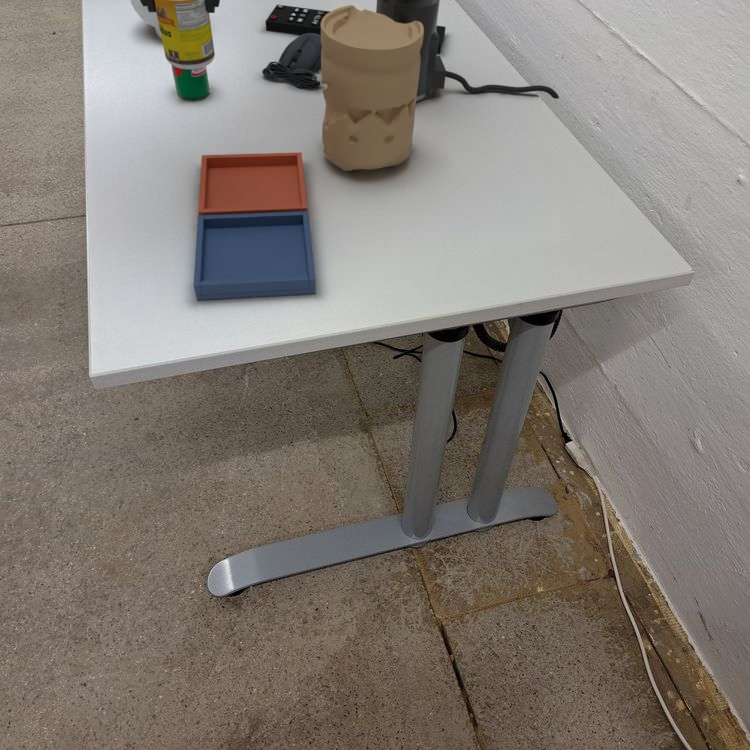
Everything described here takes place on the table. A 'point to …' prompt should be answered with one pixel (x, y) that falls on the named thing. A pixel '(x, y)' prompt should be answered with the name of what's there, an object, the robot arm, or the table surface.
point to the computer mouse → (299, 62)
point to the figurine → (146, 15)
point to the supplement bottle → (185, 32)
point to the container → (368, 87)
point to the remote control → (309, 22)
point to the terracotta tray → (252, 184)
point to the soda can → (191, 82)
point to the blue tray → (253, 255)
